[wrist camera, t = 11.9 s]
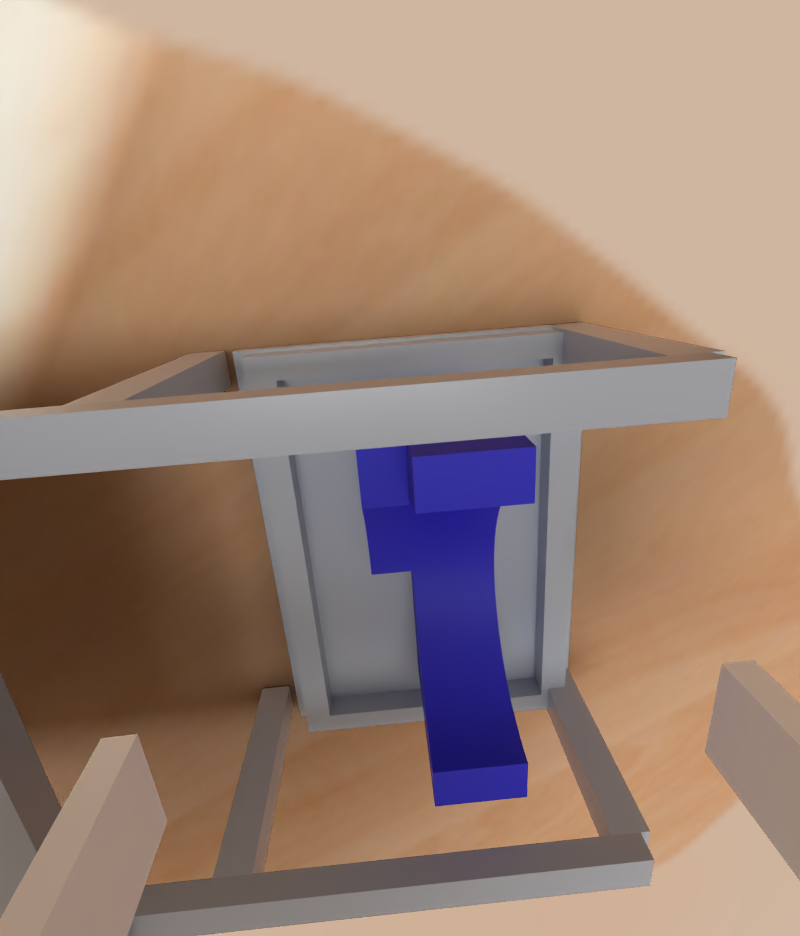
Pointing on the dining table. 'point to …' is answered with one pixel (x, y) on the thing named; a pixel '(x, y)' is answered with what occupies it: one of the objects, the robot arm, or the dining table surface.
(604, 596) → the dining table surface
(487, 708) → the blue bracket
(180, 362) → the grey frame rack
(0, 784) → the lid
